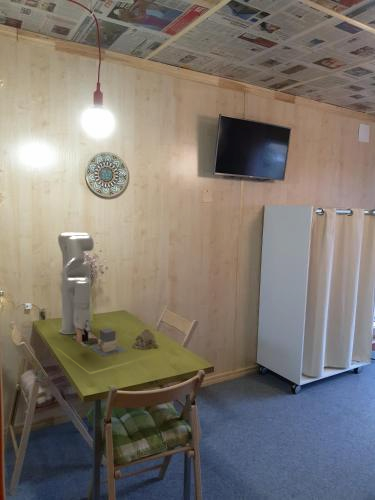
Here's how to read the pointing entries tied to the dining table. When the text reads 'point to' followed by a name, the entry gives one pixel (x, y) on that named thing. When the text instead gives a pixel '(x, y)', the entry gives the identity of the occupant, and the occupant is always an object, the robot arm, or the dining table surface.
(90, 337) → the packaged product
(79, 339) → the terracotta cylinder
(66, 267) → the robot arm
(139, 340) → the stuffed bread roll
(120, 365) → the dining table surface
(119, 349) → the slate mat
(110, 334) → the charcoal block
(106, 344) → the birch block
